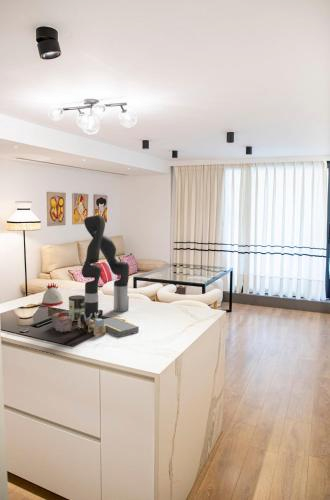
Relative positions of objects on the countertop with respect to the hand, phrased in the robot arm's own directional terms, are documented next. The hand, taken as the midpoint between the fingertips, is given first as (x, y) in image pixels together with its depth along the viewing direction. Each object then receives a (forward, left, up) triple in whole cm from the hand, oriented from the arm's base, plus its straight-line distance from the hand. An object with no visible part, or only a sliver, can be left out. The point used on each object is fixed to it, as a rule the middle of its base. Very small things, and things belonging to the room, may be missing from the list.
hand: (91, 329), depth 207 cm
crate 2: (0, +8, +4) cm, 9 cm away
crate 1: (0, -8, +4) cm, 9 cm away
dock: (-13, +6, -1) cm, 14 cm away
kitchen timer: (-11, -69, -1) cm, 70 cm away
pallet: (0, 0, -1) cm, 1 cm away
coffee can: (-5, -24, -1) cm, 25 cm away
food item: (+12, -12, -1) cm, 17 cm away
